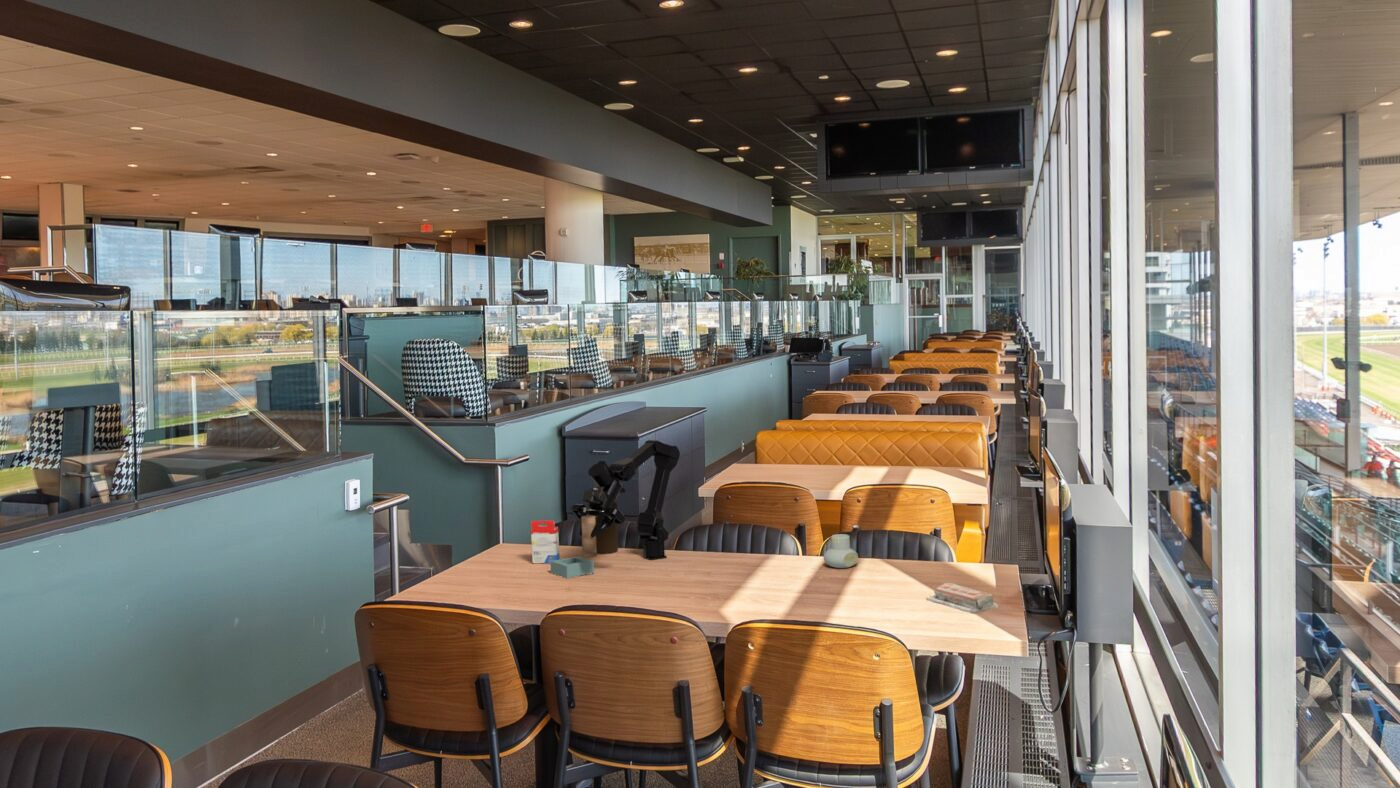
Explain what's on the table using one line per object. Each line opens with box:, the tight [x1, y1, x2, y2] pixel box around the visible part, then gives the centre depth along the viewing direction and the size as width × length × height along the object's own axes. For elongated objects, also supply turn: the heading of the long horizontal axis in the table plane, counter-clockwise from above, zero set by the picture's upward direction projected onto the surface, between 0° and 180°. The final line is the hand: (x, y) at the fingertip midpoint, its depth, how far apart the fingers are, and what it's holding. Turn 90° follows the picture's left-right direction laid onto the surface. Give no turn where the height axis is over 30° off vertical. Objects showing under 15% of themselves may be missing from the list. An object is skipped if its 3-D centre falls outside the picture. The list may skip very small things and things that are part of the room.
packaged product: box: [925, 582, 999, 615], centre depth 293 cm, size 18×5×10 cm
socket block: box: [550, 556, 595, 579], centre depth 343 cm, size 10×10×4 cm
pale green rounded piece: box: [823, 533, 859, 569], centre depth 342 cm, size 11×8×10 cm
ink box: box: [530, 519, 561, 564], centre depth 360 cm, size 8×5×15 cm, turn 84°
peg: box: [580, 515, 598, 558], centre depth 336 cm, size 4×4×12 cm
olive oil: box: [587, 484, 619, 555], centre depth 375 cm, size 11×11×25 cm
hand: (586, 535), depth 335 cm, fingers closed on peg, 4 cm apart
